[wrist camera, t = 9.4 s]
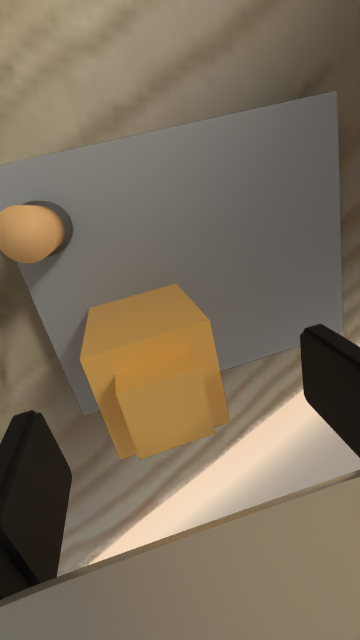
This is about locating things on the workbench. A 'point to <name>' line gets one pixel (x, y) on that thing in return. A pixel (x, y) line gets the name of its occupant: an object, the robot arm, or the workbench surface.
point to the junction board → (187, 228)
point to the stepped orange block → (154, 371)
